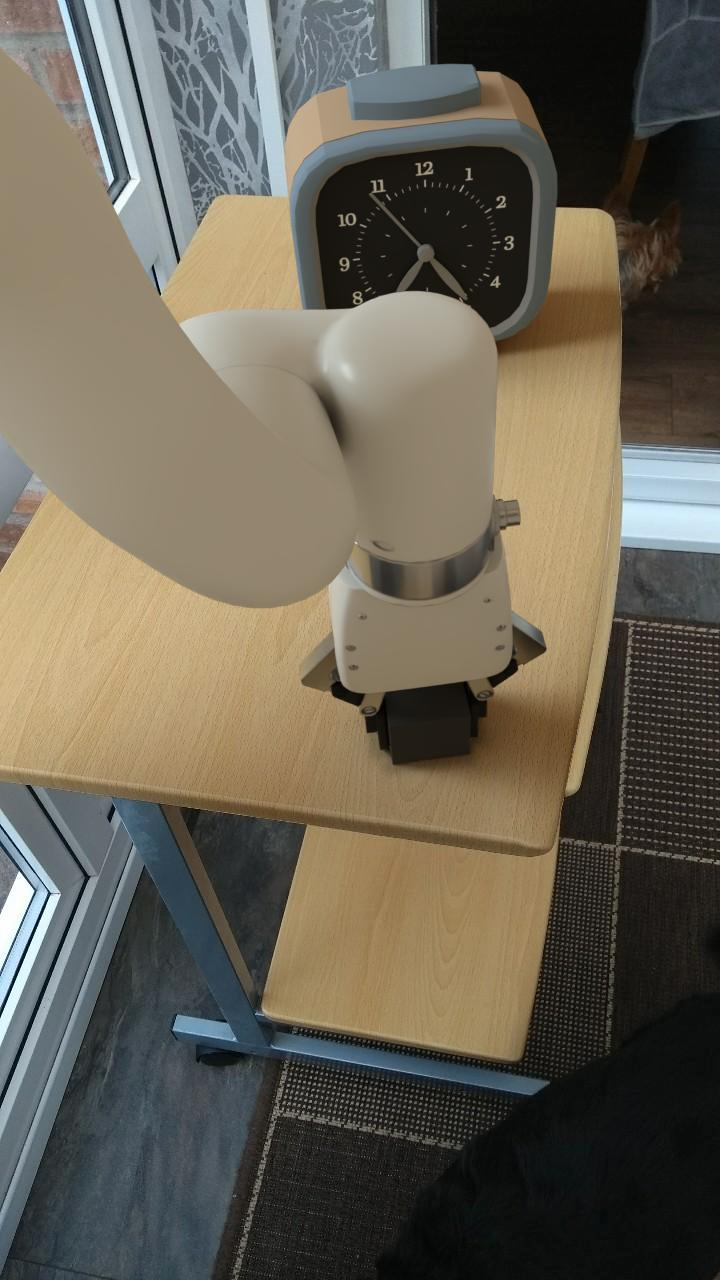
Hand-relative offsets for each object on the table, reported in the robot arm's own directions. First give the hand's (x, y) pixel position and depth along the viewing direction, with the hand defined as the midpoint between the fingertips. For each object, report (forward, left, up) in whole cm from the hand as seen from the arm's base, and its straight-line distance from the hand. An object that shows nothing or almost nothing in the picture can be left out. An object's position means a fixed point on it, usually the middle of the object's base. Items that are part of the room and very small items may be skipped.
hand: (425, 723), depth 66 cm
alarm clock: (+6, +42, -1) cm, 42 cm away
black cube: (0, 0, 0) cm, 0 cm away
